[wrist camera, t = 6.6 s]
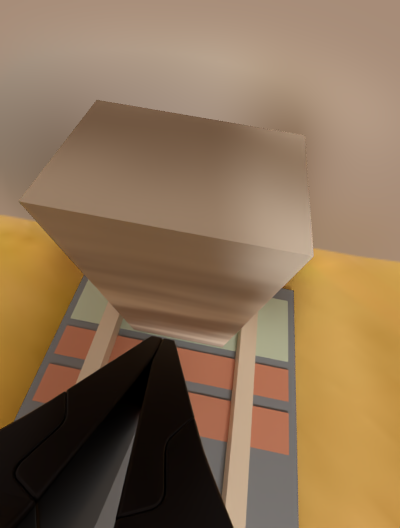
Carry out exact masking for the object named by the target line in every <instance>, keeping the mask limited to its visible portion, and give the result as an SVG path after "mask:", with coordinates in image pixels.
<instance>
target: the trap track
mask: <svg viewBox="0 0 400 528" xmlns="http://www.w3.org/2000/svg"><path fill="white" fill-rule="evenodd" d="M150 336H156V337H161V338H162V339H164V338H166V339H171V340H174V341H175V344H176V347H177V351H178V355H179V359H180V363H181V367H182V370H183V374H184V378H185V382H186V386H187V390H188V393H189V397H190V401H191V405H192V409H193V413H194V417H195V418H194V419H195V420H196V424H197V427H198V431H199V435H200V438H201V441H202V445H203V448H204V451H205V454H206V457H207V460H208V463H209V465H210V468H211V471H212V474H213V476H214V479H215V481H216V484H217V487H218V489H219V492H220V494H221V497H222V499H223V502H224V504H225V507H226V509H227V512H228V514H229V517H230V519H231V522H232V525H233V527H234V528H299V522H298V475H297V428H296V381H295V334H294V291H293V290H288V289H282V288H281V289H280V290H279V291H278V292H277V293H276V294H275V295H274V296H273V297H272V298H271V299H270V300H269V301H268V302H267V303H266V304H265V305H264V306H263V307H262V308H261V309H260V310H259V311H258V312H257V313H256V314H255V315H254V316H253V317H252V318H251V319H250V320H249V321H248V322H247V323H246V324H245V325H244V326H243V327H242V328H241V329H240V330H239V331H238V332H237V333H236V334H235V335H234V336H233V337H232V338H231V339H230V340H229V341H228V342H227V343H226V344H225V345H224V346H223V347H217V346H212V345H207V344H202V343H197V342H192V341H187V340H182V339H177V338H172V337H167V336H162V335H157V334H152V333H147V332H143V331H138V330H134V329H133V328H132V327H131V326H130V325H129V324H128V323H127V322H126V320H125V319H124V318H123V317H122V316H121V315H120V314H119V313H118V312H117V310H116V309H115V308H114V307H113V306H112V305H111V304H110V303H109V302H108V300H107V299H106V298H105V297H104V296H103V295H102V294H101V293H100V291H99V290H98V289H97V288H96V287H95V286H94V285H93V284H92V283H91V281H90V280H89V279H88V278H87V277H86V276H85V275H84V276H83V278H82V280H81V282H80V285H79V287H78V289H77V291H76V293H75V295H74V297H73V299H72V301H71V303H70V305H69V308H68V310H67V312H66V314H65V316H64V318H63V320H62V322H61V324H60V326H59V328H58V330H57V333H56V335H55V337H54V339H53V341H52V343H51V345H50V347H49V349H48V351H47V353H46V355H45V358H44V360H43V362H42V364H41V366H40V368H39V370H38V372H37V374H36V376H35V378H34V380H33V383H32V385H31V387H30V389H29V391H28V393H27V395H26V397H25V399H24V401H23V403H22V406H21V408H20V410H19V412H18V414H17V416H16V418H15V420H14V421H16V420H18V419H19V418H21V417H23V416H25V415H27V414H28V413H30V412H32V411H33V410H35V409H37V408H38V407H40V406H41V405H43V404H45V403H46V402H48V401H50V400H51V399H53V398H54V397H56V396H58V395H59V394H61V393H62V392H64V391H65V392H66V391H67V389H69V388H70V387H72V386H73V385H75V384H77V383H78V382H80V381H81V380H83V379H84V378H86V377H87V376H89V375H91V374H92V373H94V372H95V371H97V370H98V369H100V368H102V367H103V366H105V365H106V364H108V363H109V362H111V361H113V360H114V359H116V358H117V357H119V356H120V355H122V354H123V353H125V352H127V351H128V350H130V349H131V348H133V347H134V346H136V345H138V344H139V343H141V342H142V341H144V340H145V339H147V338H149V337H150ZM135 433H136V432H135ZM134 437H135V434H134V436H133V439H132V441H131V443H130V446H129V448H128V450H127V453H126V455H125V457H124V460H123V462H122V464H121V467H120V469H119V471H118V474H117V476H116V478H115V481H114V483H113V485H112V488H111V490H110V492H109V495H108V497H107V499H106V502H105V504H104V506H103V509H102V511H101V514H100V516H99V518H98V521H97V523H96V525H95V528H113V527H114V524H115V519H116V514H117V510H118V506H119V501H120V497H121V493H122V488H123V484H124V480H125V476H126V471H127V467H128V463H129V458H130V454H131V450H132V446H133V441H134Z"/></svg>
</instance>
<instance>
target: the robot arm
mask: <svg viewBox="0 0 400 528" xmlns="http://www.w3.org/2000/svg"><path fill="white" fill-rule="evenodd" d="M194 418H195V417H194V413H193V409H192V405H191V401H190V397H189V393H188V390H187V386H186V382H185V378H184V374H183V370H182V367H181V363H180V359H179V355H178V351H177V347H176V344H175V341H174V340H171V339H166V338H164V339H162V338H161V337H156V336H150V337H149V338H147V339H145V340H144V341H142V342H141V343H139V344H138V345H136V346H134V347H133V348H131V349H130V350H128V351H127V352H125V353H123V354H122V355H120V356H119V357H117V358H116V359H114V360H113V361H111V362H109V363H108V364H106V365H105V366H103V367H102V368H100V369H98V370H97V371H95V372H94V373H92V374H91V375H89V376H87V377H86V378H84V379H83V380H81V381H80V382H78V383H77V384H75V385H73V386H72V387H70V388H69V389H67V391H66V392H65V391H64V392H62V393H61V394H59V395H58V396H56V397H54V398H53V399H51V400H50V401H48V402H46V403H45V404H43V405H41V406H40V407H38V408H37V409H35V410H33V411H32V412H30V413H28V414H27V415H25V416H23V417H21V418H19V419H18V420H16V421H14V422H12V423H11V424H9V425H7V426H5V427H3V428H2V429H0V528H95V525H96V523H97V521H98V518H99V516H100V514H101V511H102V509H103V506H104V504H105V502H106V499H107V497H108V495H109V492H110V490H111V488H112V485H113V483H114V481H115V478H116V476H117V474H118V471H119V469H120V467H121V464H122V462H123V460H124V457H125V455H126V453H127V450H128V448H129V446H130V443H131V441H132V439H133V436H134V434H135V437H134V441H133V446H132V450H131V454H130V458H129V463H128V467H127V471H126V476H125V480H124V484H123V488H122V493H121V497H120V501H119V506H118V510H117V514H116V519H115V524H114V527H113V528H234V527H233V525H232V522H231V519H230V517H229V514H228V512H227V509H226V507H225V504H224V502H223V499H222V497H221V494H220V492H219V489H218V487H217V484H216V481H215V479H214V476H213V474H212V471H211V468H210V465H209V463H208V460H207V457H206V454H205V451H204V448H203V445H202V441H201V438H200V435H199V431H198V427H197V424H196V420H195V419H194ZM135 432H136V433H135Z"/></svg>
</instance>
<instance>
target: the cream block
mask: <svg viewBox="0 0 400 528" xmlns="http://www.w3.org/2000/svg"><path fill="white" fill-rule="evenodd" d="M308 187H309V186H308V173H307V159H306V146H305V135H300V134H294V133H288V132H282V131H276V130H270V129H265V128H259V127H253V126H247V125H241V124H235V123H229V122H223V121H218V120H212V119H206V118H200V117H193V116H188V115H182V114H176V113H170V112H165V111H158V110H152V109H147V108H141V107H135V106H129V105H123V104H118V103H112V102H106V101H100V100H96V102H95V103H94V104H93V106H92V107H91V108H90V109H89V111H88V112H87V113H86V115H85V116H84V117H83V118H82V120H81V121H80V122H79V124H78V125H77V126H76V127H75V129H74V130H73V131H72V133H71V134H70V135H69V137H68V138H67V139H66V141H65V142H64V143H63V144H62V146H61V147H60V148H59V150H58V151H57V152H56V153H55V155H54V156H53V157H52V159H51V160H50V161H49V162H48V164H47V165H46V166H45V168H44V169H43V170H42V172H41V173H40V174H39V175H38V177H37V178H36V179H35V181H34V182H33V183H32V184H31V186H30V187H29V188H28V190H27V191H26V192H25V194H24V195H23V196H22V197H21V199H20V200H19V203H20V204H21V205H22V206H23V207H24V208H25V209H26V210H27V211H28V213H29V214H30V215H31V216H32V217H33V218H34V219H35V220H36V221H37V223H38V224H39V225H40V226H41V227H42V228H43V229H44V230H45V231H46V233H47V234H48V235H49V236H50V237H51V238H52V239H53V240H54V241H55V243H56V244H57V245H58V246H59V247H60V248H61V249H62V250H63V251H64V253H65V254H66V255H67V256H68V257H69V258H70V259H71V260H72V261H73V263H74V264H75V265H76V266H77V267H78V268H79V269H80V270H81V271H82V273H83V274H84V275H85V276H86V277H87V278H88V279H89V280H90V281H91V283H92V284H93V285H94V286H95V287H96V288H97V289H98V290H99V291H100V293H101V294H102V295H103V296H104V297H105V298H106V299H107V300H108V302H109V303H110V304H111V305H112V306H113V307H114V308H115V309H116V310H117V312H118V313H119V314H120V315H121V316H122V317H123V318H124V319H125V320H126V322H127V323H128V324H129V325H130V326H131V327H132V328H133V329H134V330H138V331H143V332H147V333H152V334H157V335H162V336H167V337H172V338H177V339H182V340H187V341H192V342H197V343H202V344H207V345H212V346H217V347H223V346H224V345H225V344H226V343H227V342H228V341H229V340H230V339H231V338H232V337H233V336H234V335H235V334H236V333H237V332H238V331H239V330H240V329H241V328H242V327H243V326H244V325H245V324H246V323H247V322H248V321H249V320H250V319H251V318H252V317H253V316H254V315H255V314H256V313H257V312H258V311H259V310H260V309H261V308H262V307H263V306H264V305H265V304H266V303H267V302H268V301H269V300H270V299H271V298H272V297H273V296H274V295H275V294H276V293H277V292H278V291H279V290H280V289H281V288H282V287H283V286H284V285H285V284H286V283H287V282H288V281H289V280H290V279H291V278H292V277H293V276H294V275H295V274H296V273H297V272H298V271H299V270H300V269H301V268H302V267H303V266H304V265H305V264H306V263H307V262H308V261H309V260H310V259H311V258H312V257H314V254H313V240H312V228H311V213H310V200H309V188H308Z"/></svg>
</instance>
